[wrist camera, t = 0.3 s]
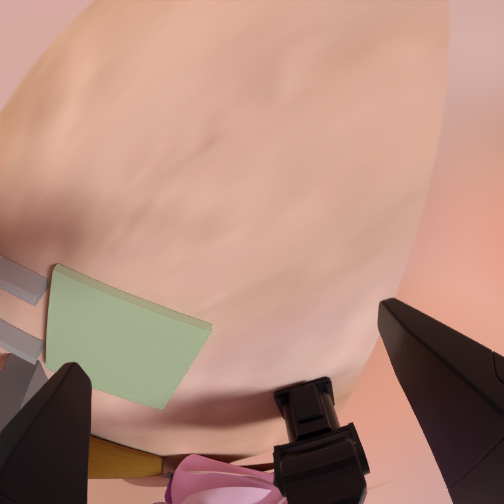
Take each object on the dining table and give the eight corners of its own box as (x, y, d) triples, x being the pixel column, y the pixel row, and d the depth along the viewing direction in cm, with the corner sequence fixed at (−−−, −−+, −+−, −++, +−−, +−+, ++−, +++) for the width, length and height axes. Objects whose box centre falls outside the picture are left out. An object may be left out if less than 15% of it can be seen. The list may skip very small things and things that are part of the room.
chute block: (39, 360, 27) (4, 456, 16) (50, 384, 29) (22, 474, 18) (10, 352, 26) (-29, 441, 15) (22, 376, 28) (-9, 460, 17)
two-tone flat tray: (211, 324, 26) (211, 344, 24) (163, 403, 31) (161, 421, 29) (-24, 222, 19) (-39, 235, 16) (-18, 326, 24) (-27, 341, 22)
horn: (163, 442, 41) (29, 415, 37) (156, 446, 33) (0, 408, 29) (163, 486, 37) (27, 455, 33) (156, 498, 29) (-2, 456, 25)
